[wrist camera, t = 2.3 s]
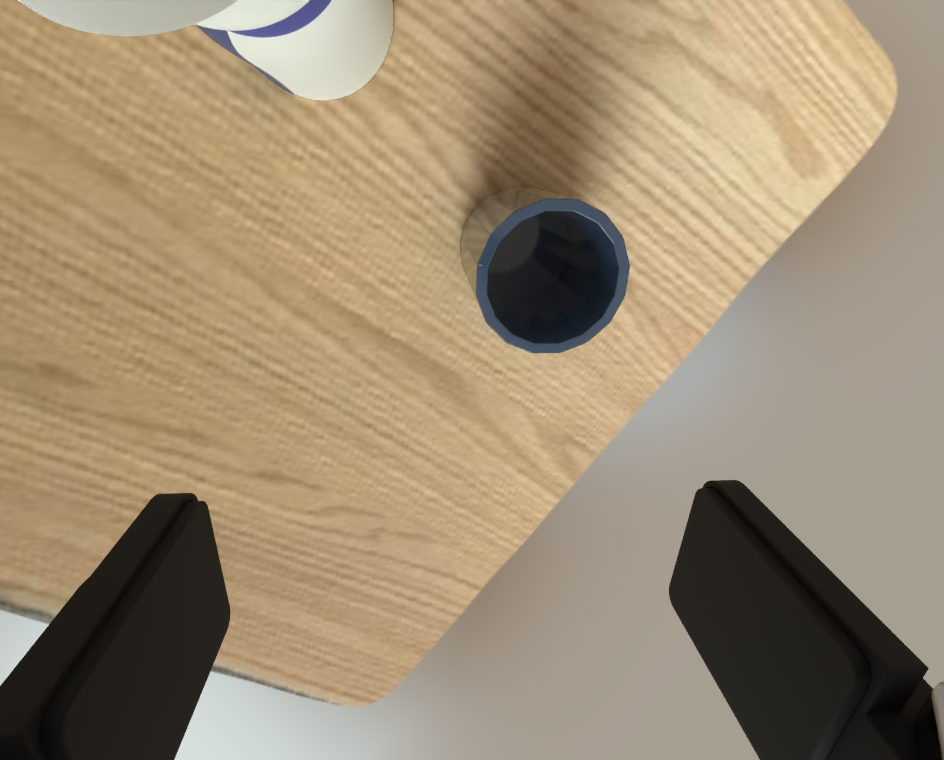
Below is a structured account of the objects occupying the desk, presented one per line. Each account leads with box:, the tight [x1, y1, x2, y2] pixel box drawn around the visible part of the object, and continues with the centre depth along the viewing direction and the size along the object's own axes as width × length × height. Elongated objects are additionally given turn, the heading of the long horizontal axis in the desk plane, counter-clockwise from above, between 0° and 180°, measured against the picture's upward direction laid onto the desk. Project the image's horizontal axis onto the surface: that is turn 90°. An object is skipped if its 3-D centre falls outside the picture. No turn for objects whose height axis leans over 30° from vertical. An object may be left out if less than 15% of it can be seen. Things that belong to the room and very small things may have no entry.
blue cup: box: [460, 187, 630, 353], centre depth 25 cm, size 7×7×8 cm
